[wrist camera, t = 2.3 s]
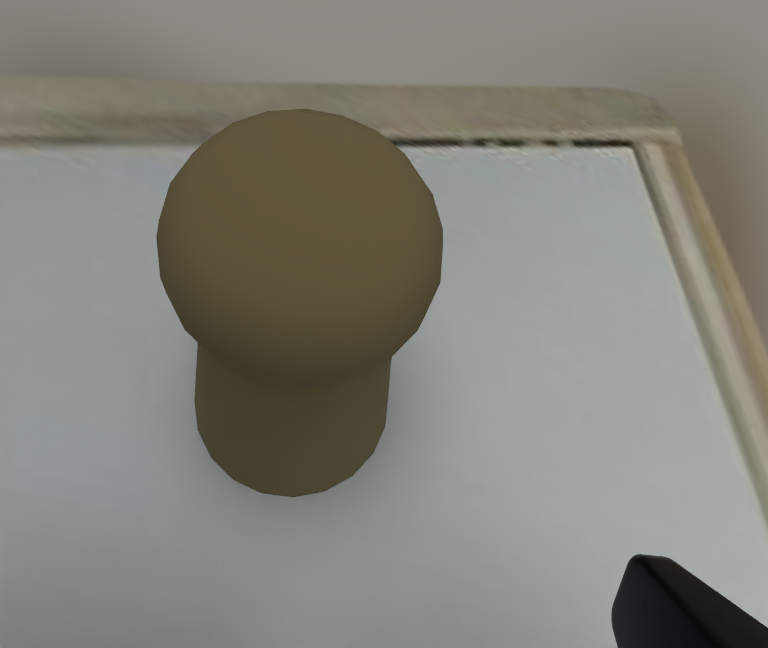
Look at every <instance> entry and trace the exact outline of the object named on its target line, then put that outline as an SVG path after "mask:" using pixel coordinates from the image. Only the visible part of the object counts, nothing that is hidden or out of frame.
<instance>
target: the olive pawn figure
mask: <svg viewBox="0 0 768 648" xmlns="http://www.w3.org/2000/svg"><path fill="white" fill-rule="evenodd" d="M157 247H158V258H159V269H160V278H161V280H162V283H163V286H164V288H165V291H166V293H167V295H168V297H169V299H170V301H171V303H172V305H173V307H174V309H175V311H176V313H177V315H178V317H179V319H180V321H181V323H182V325H183V327H184V329H185V330H186V331H187V332H188V333H189V334H190V335H191V336H192V337H193V338H194V339H195V340H196V341H197V342H198V350H197V368H196V386H195V408H196V417H197V427H198V431H199V433H200V436H201V438H202V440H203V442H204V444H205V446H206V448H207V450H208V452H209V454H210V456H211V458H212V459H213V460H214V461H215V462H216V463H217V464H218V465H219V466H220V467H221V468H222V469H223V470H224V471H225V472H226V473H227V474H228V475H229V476H230V477H231V478H232V479H234V480H236V481H238V482H240V483H242V484H244V485H246V486H248V487H250V488H252V489H254V490H257V491H259V492H261V493H266V494H274V495H282V496H290V497H296V496H301V495H306V494H312V493H317V492H322V491H326V490H327V489H329V488H331V487H333V486H335V485H336V484H338V483H340V482H342V481H344V480H345V479H347V478H349V477H351V476H352V475H353V474H354V473H355V472H356V471H357V470H358V469H359V468H360V467H361V466H362V465H363V464H364V462H365V461H366V460H367V459H368V458H369V457H370V456H371V455H372V454H373V452H374V450H375V447H376V445H377V443H378V441H379V439H380V436H381V434H382V432H383V430H384V428H385V420H386V410H387V400H388V389H389V377H390V366H391V357H392V356H393V355H394V354H395V353H396V352H397V351H398V350H399V349H400V348H401V347H402V346H403V345H404V344H405V343H406V342H407V341H408V340H409V339H410V338H411V337H412V336H413V335H414V334H415V333H416V332H417V330H418V328H419V326H420V324H421V323H422V321H423V319H424V317H425V315H426V312H427V310H428V308H429V306H430V304H431V302H432V299H433V297H434V295H435V293H436V291H437V288H438V286H439V284H440V279H441V264H442V250H443V229H442V225H441V222H440V218H439V215H438V211H437V208H436V204H435V201H434V198H433V194H432V193H431V191H430V190H429V188H428V187H427V185H426V184H425V182H424V181H423V180H422V178H421V177H420V175H419V174H418V172H417V171H416V169H415V168H414V166H413V165H412V164H411V162H410V161H409V159H408V158H407V156H406V155H405V153H403V152H402V151H401V150H400V149H398V148H397V147H396V146H395V145H393V144H392V143H391V142H390V141H389V140H387V139H386V138H385V137H384V136H382V135H381V134H380V133H379V132H377V131H376V130H374V129H371V128H369V127H367V126H365V125H362V124H360V123H358V122H356V121H354V120H351V119H349V118H347V117H345V116H342V115H336V114H331V113H325V112H320V111H314V110H309V109H296V110H280V111H267V112H264V113H261V114H258V115H255V116H252V117H249V118H246V119H243V120H240V121H237V122H234V123H232V124H230V125H229V126H227V127H226V128H225V129H223V130H222V131H220V132H219V133H217V134H216V135H214V136H213V137H211V138H210V139H208V140H207V141H206V142H204V143H203V144H202V145H201V146H200V147H199V148H198V149H197V150H196V151H195V152H193V154H192V155H191V156H190V158H189V159H188V160H187V162H186V163H185V164H184V166H183V167H182V168H181V170H180V171H179V172H178V174H177V175H176V176H175V177H174V179H173V180H172V181H171V183H170V185H169V189H168V192H167V195H166V199H165V202H164V206H163V209H162V212H161V216H160V219H159V225H158V231H157Z"/></svg>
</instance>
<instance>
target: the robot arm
mask: <svg viewBox="0 0 768 648" xmlns="http://www.w3.org/2000/svg"><path fill="white" fill-rule="evenodd" d="M612 627H613V631H614V635H615V639H616V643H617V646H618V648H768V628H767V627H766V626H764V625H763V624H761V623H760V622H759V621H757V620H756V619H754V618H753V617H752V616H750V615H749V614H747V613H746V612H745V611H743V610H742V609H740V608H739V607H738V606H736V605H735V604H733V603H732V602H731V601H729V600H728V599H726V598H725V597H723V596H722V595H721V594H719V593H718V592H716V591H715V590H714V589H712V588H711V587H709V586H708V585H707V584H705V583H704V582H702V581H701V580H700V579H698V578H697V577H695V576H694V575H693V574H691V573H690V572H688V571H687V570H686V569H684V568H683V567H681V566H680V565H679V564H677V563H676V562H674V561H673V560H671V559H670V558H667V557H663V556H653V555H642V554H638V555H635V556H633V557H632V558H631V559H630V560H629V562H628V564H627V567H626V570H625V573H624V575H623V578H622V581H621V584H620V586H619V589H618V592H617V595H616V598H615V600H614V603H613V607H612Z"/></svg>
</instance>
